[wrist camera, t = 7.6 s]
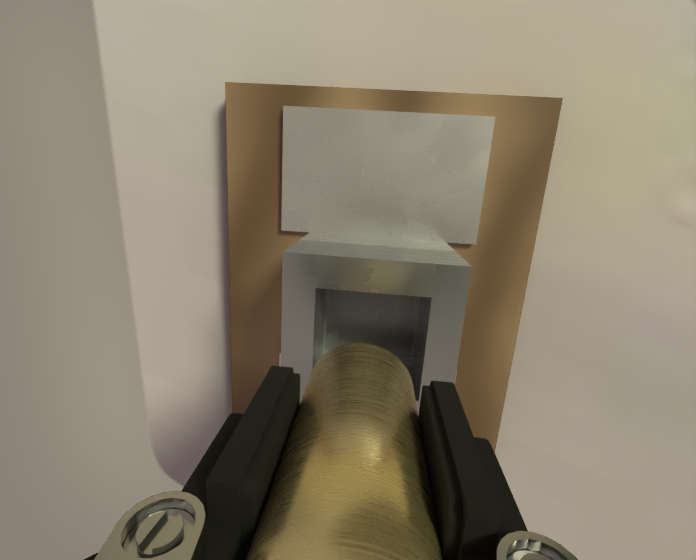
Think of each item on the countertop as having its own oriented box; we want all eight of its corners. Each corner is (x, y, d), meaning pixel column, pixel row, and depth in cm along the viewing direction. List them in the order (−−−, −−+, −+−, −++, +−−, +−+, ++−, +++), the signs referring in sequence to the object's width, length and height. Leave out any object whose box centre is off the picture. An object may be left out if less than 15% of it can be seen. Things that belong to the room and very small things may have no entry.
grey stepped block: (493, 118, 18) (547, 87, 12) (442, 455, 23) (463, 549, 17) (285, 107, 18) (241, 73, 13) (279, 438, 23) (246, 522, 18)
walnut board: (548, 104, 19) (562, 98, 17) (483, 457, 24) (490, 475, 23) (236, 89, 20) (225, 82, 18) (241, 431, 25) (233, 446, 24)
